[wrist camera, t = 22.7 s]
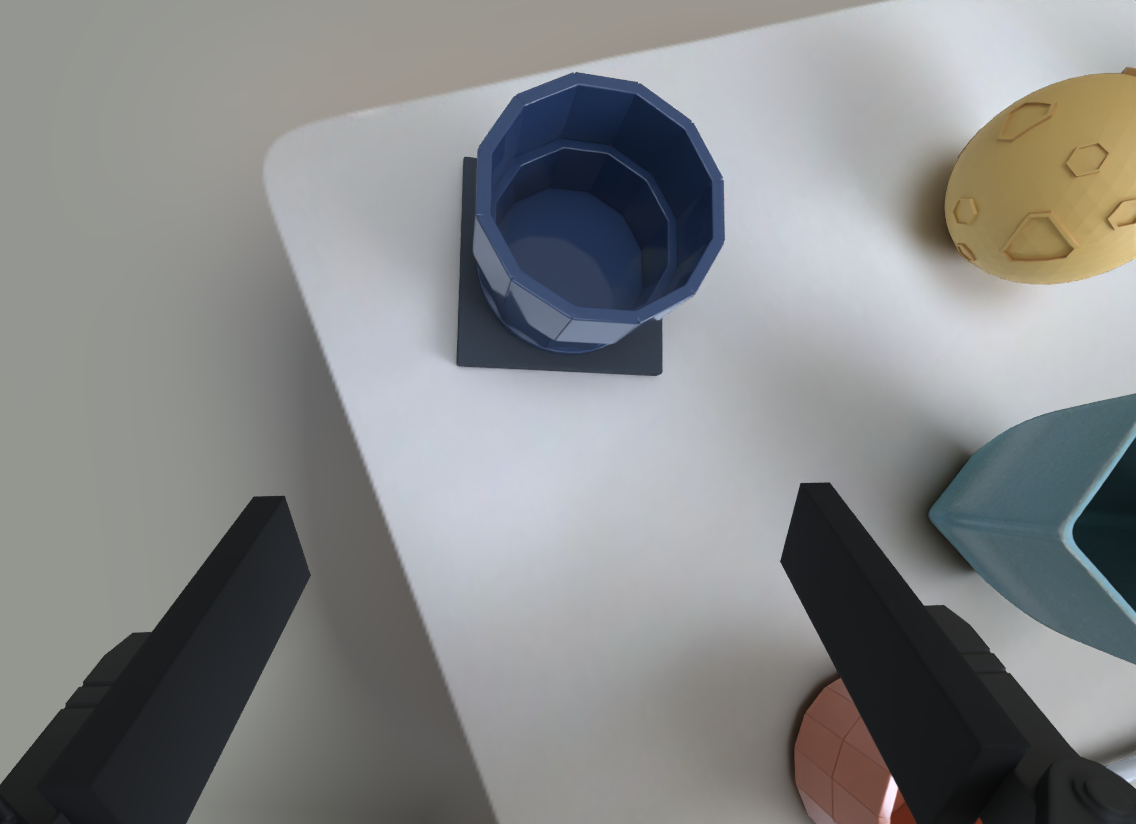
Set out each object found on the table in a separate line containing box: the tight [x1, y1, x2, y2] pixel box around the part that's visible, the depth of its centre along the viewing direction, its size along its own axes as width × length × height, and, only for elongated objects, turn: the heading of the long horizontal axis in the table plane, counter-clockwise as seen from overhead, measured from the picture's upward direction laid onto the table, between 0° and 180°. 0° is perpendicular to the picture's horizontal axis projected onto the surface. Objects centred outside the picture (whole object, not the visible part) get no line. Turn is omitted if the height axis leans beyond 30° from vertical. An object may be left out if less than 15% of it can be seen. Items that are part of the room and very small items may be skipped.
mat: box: [457, 157, 662, 376], centre depth 27 cm, size 10×10×1 cm
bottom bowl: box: [794, 678, 983, 824], centre depth 25 cm, size 8×8×6 cm
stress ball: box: [945, 67, 1136, 285], centre depth 28 cm, size 10×10×10 cm
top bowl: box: [473, 72, 725, 355], centre depth 23 cm, size 9×9×7 cm
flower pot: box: [928, 394, 1136, 664], centre depth 26 cm, size 9×9×9 cm
